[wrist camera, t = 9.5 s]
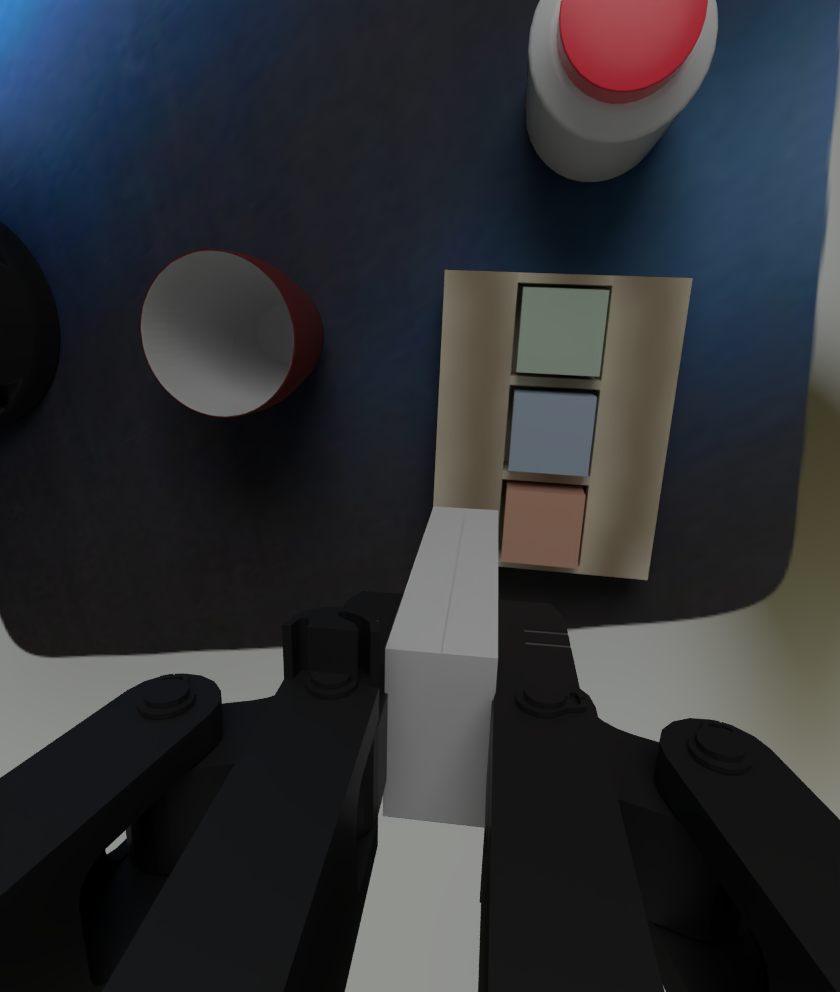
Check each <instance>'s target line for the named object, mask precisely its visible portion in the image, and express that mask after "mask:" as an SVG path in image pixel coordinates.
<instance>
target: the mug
mask: <svg viewBox="0 0 840 992" xmlns="http://www.w3.org/2000/svg"><path fill="white" fill-rule="evenodd" d="M139 332H140V335H141V342H142V348H143V351H144V355H145V357H146V360H147V363H148V365H149V367H150V369H151V371H152V373H153V375H154V376H155V378H156V379H157V381H158V382H159V384H160V385H161V386H162V387H163V388H164V390H165V391H166V392H167V393H168V394H169V395H170V396H171V397H173V398H174V399H175V400H176V401H177V402H179V403H180V404H182V405H183V406H185V407H187V408H188V409H190V410H192V411H195V412H197V413H200V414H202V415H206V416H210V417H216V418H235V417H241V416H245V415H249V414H252V413H256V412H259V411H262V410H265V409H267V408H270V407H272V406H274V405H275V404H277V403H279V402H281V401H282V400H284V399H285V398H286V397H288V396H289V395H290V394H291V393H292V392H293V391H294V390H295V389H296V388H297V387H298V386H299V385H300V384H301V383H302V382H303V381H304V380H305V379H306V378H307V377H308V376H309V374H310V373H311V372H312V371H313V369H314V368H315V366H316V365H317V363H318V361H319V359H320V356H321V353H322V349H323V342H324V331H323V324H322V320H321V317H320V314H319V312H318V309H317V307H316V306H315V304H314V302H313V301H312V299H311V298H310V297H309V296H308V295H307V293H306V292H305V291H304V290H303V289H301V288H300V287H299V286H298V285H297V284H296V283H295V282H293V281H292V280H291V279H290V278H289V277H287V276H286V275H285V274H284V273H283V272H281V271H280V270H279V269H277V268H276V267H274V266H272V265H271V264H269V263H267V262H265V261H263V260H261V259H258V258H256V257H253V256H250V255H247V254H243V253H238V252H234V251H228V250H222V249H201V250H196V251H191V252H189V253H186V254H183V255H181V256H179V257H177V258H176V259H174V260H172V261H171V262H170V263H168V264H167V265H166V266H165V267H164V268H163V269H162V270H161V271H160V272H159V273H158V274H157V276H156V277H155V278H154V280H153V281H152V283H151V284H150V286H149V288H148V290H147V293H146V295H145V298H144V301H143V305H142V309H141V316H140V320H139Z"/></svg>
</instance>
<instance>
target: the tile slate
mask: <svg viewBox="0 0 840 992" xmlns="http://www.w3.org/2000/svg"><path fill="white" fill-rule="evenodd" d="M596 402H597V397H596V396H595V395H594V394H593V393H592V392H589V391H571V390H553V389H535V388H517V387H515V389H514V401H513V413H512V426H511V438H510V450H509V465H508V471H517V472H531V473H545V474H558V475H572V476H586V477H588V471H589V462H590V453H591V445H592V436H593V428H594V419H595V411H596Z"/></svg>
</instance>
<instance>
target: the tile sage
mask: <svg viewBox="0 0 840 992" xmlns="http://www.w3.org/2000/svg"><path fill="white" fill-rule="evenodd" d="M608 299H609V290H593V289H566V288H539V287H523V291H522V303H521V315H520V327H519V340H518V352H517V364H516V372H522V373H541V374H560V375H578V376H597V377H599V376H600V368H601V359H602V350H603V342H604V333H605V325H606V316H607V308H608Z"/></svg>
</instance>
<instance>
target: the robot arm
mask: <svg viewBox="0 0 840 992" xmlns="http://www.w3.org/2000/svg"><path fill="white" fill-rule="evenodd" d="M58 352H59V324H58V317H57V312H56V307H55V303H54V299H53V296H52V293H51V290H50V288H49V285H48V283H47V280H46V278H45V276H44V274H43V272H42V270H41V269H40V267H39V265H38V263H37V262H36V260H35V259H34V257H33V256H32V254H31V253H30V251H29V250H28V249H27V247H26V246H25V245H24V244H23V243H22V241H21V240H20V239H19V238H18V237H17V236H16V235H15V234H14V233H13V232H12V231H11V230H10V229H9V228H7V227H6V226H5V225H4V224H3V223H1V222H0V427H2V426H5V425H8V424H11V423H13V422H15V421H17V420H18V419H20V418H22V417H23V416H25V415H26V414H27V413H28V412H29V411H31V410H32V409H33V408H34V407H35V406H36V405H37V403H38V402H39V401H40V400H41V398H42V397H43V395H44V394H45V392H46V390H47V389H48V387H49V385H50V383H51V380H52V378H53V375H54V372H55V368H56V364H57V359H58ZM282 633H283V658H284V659H283V660H284V680H283V682H282V684H281V686H280V688H279V689H278V691H277V692H276V694H275V696H272V697H268V698H263V699H259V700H253V701H243V702H233V703H225V704H222V702H221V690H220V689H219V687H218V686H217V685H216V683H215V682H214V681H212V680H210V679H208V678H205V677H203V676H200V675H192V674H175V675H173V674H169V675H163V676H160V677H158V678H154V679H151V680H147V681H144V682H142V683H141V684H138V685H137V686H135V687H133V688H131V689H129V690H127V691H126V692H124V693H123V694H121V695H120V696H118V697H117V698H116V699H114V700H113V701H111V702H110V703H108V704H107V705H105V706H104V707H102V708H101V709H100V710H99V711H97V712H95V713H94V714H92V715H91V716H90V717H88V718H87V719H85V720H84V721H82V722H81V723H79V724H78V725H76V726H75V727H74V728H72V729H71V730H69V731H68V732H66V733H65V734H63V735H62V736H61V737H59V738H58V739H56V740H55V741H53V742H52V743H50V744H49V745H47V746H46V747H45V748H43V749H42V750H40V751H39V752H37V753H36V754H34V755H33V756H32V757H30V758H29V759H27V760H26V761H25V762H23V763H22V764H20V765H19V766H17V767H16V768H14V769H13V770H11V771H10V772H8V773H7V774H5V775H4V776H3V777H1V778H0V992H345V988H346V983H347V978H348V975H349V970H350V966H351V961H352V957H353V952H354V948H355V943H356V939H357V934H358V930H359V926H360V921H361V917H362V912H363V908H364V903H365V899H366V894H367V890H368V886H369V881H370V877H371V872H372V868H373V863H374V858H375V855H376V850H377V846H378V845H377V844H378V813H379V809H380V805H381V801H382V796H383V816H388V817H397V818H405V819H414V820H423V821H431V822H440V823H449V824H458V825H467V826H475V827H484V828H485V831H484V846H483V860H482V875H481V891H480V902H481V923H480V955H479V983H478V984H479V985H478V992H664V988H665V990H666V992H840V820H839V819H838V818H837V816H836V815H835V814H834V813H833V812H832V811H831V810H830V809H829V808H828V807H827V806H826V805H825V804H824V803H823V802H822V801H821V800H820V799H819V798H818V797H817V796H816V795H815V794H814V793H813V792H812V791H811V790H810V789H809V788H808V787H807V786H806V785H805V784H804V783H803V782H802V781H801V780H800V779H799V778H798V777H797V776H796V775H795V774H794V772H793V771H792V770H791V769H790V768H789V767H788V766H787V765H786V764H785V763H784V762H783V761H782V760H781V759H780V758H779V757H778V756H777V755H776V754H775V753H774V752H773V751H772V750H771V749H770V748H768V747H767V746H766V745H765V744H763V743H762V742H761V741H759V740H758V739H757V738H756V737H754V736H752V735H750V734H748V733H746V732H744V731H742V730H740V729H738V728H736V727H734V726H732V725H729V724H726V723H723V722H722V723H720V722H719V721H714V720H707V719H693V718H689V719H683V720H679V721H674V722H672V723H670V724H669V725H668V726H666V727H665V728H664V729H662V732H661V737H660V742H656V741H652V740H649V739H646V738H642V737H639V736H636V735H633V734H630V733H627V732H624V731H622V730H619V729H617V728H615V727H613V726H611V725H609V724H607V723H605V722H604V721H602V720H601V719H600V718H598V715H597V711H596V707H595V705H594V704H593V702H592V700H591V698H590V697H589V695H587V694H586V693H585V692H584V691H582V690H581V689H580V688H579V683H578V678H577V674H576V669H575V664H574V660H573V655H572V650H571V648H570V642H569V637H568V635H567V633H568V632H567V627H566V623H565V618H564V616H563V615H562V614H561V613H560V612H559V611H557V610H556V609H555V608H554V607H553V606H552V605H551V604H550V603H539V602H525V601H512V600H499V599H498V510H484V509H468V508H451V507H435V506H434V507H433V510H432V513H431V516H430V519H429V522H428V524H427V527H426V530H425V533H424V536H423V539H422V542H421V545H420V548H419V551H418V554H417V557H416V560H415V563H414V566H413V569H412V571H411V574H410V577H409V580H408V583H407V586H406V589H405V592H404V594H394V593H380V592H367V591H362V592H361V593H359V594H357V595H356V596H354V597H353V598H351V599H350V600H348V601H347V602H345V604H344V606H343V607H322V608H316V609H311V610H306V611H304V612H301V613H299V614H297V615H294V616H292V617H291V618H289V619H288V620H287V621H286V622H285V623H284V624H283V625H282ZM125 830H126V836H127V839H126V840H125V841H124V842H123V843H122V844H120V845H119V846H118V848H116V849H115V850H113V851H112V852H110V853H109V854H106V852H105V849H106V848H107V847H108V846H109V845H110V844H111V843H112V842H113V841H114V840H115V839H116V838H117V837H119V836H120V835H121V834H122V833H123V832H124V831H125ZM663 986H664V988H663Z"/></svg>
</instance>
